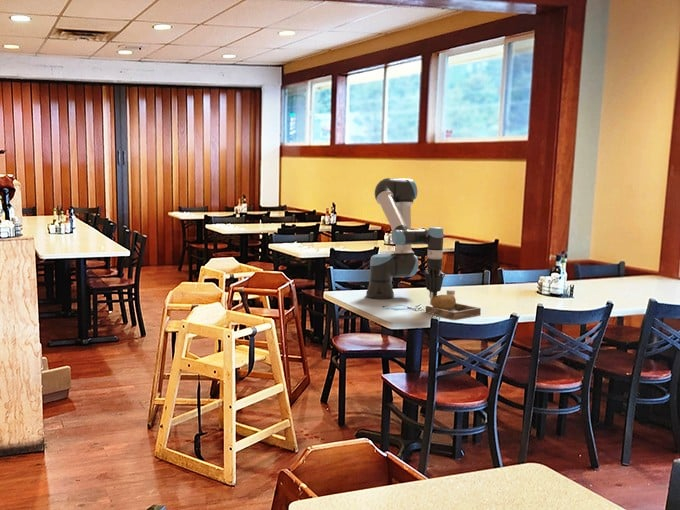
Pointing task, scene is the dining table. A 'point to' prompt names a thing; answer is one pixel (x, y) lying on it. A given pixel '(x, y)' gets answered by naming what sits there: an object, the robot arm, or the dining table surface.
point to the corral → (459, 314)
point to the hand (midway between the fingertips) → (432, 304)
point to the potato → (443, 302)
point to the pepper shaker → (451, 292)
